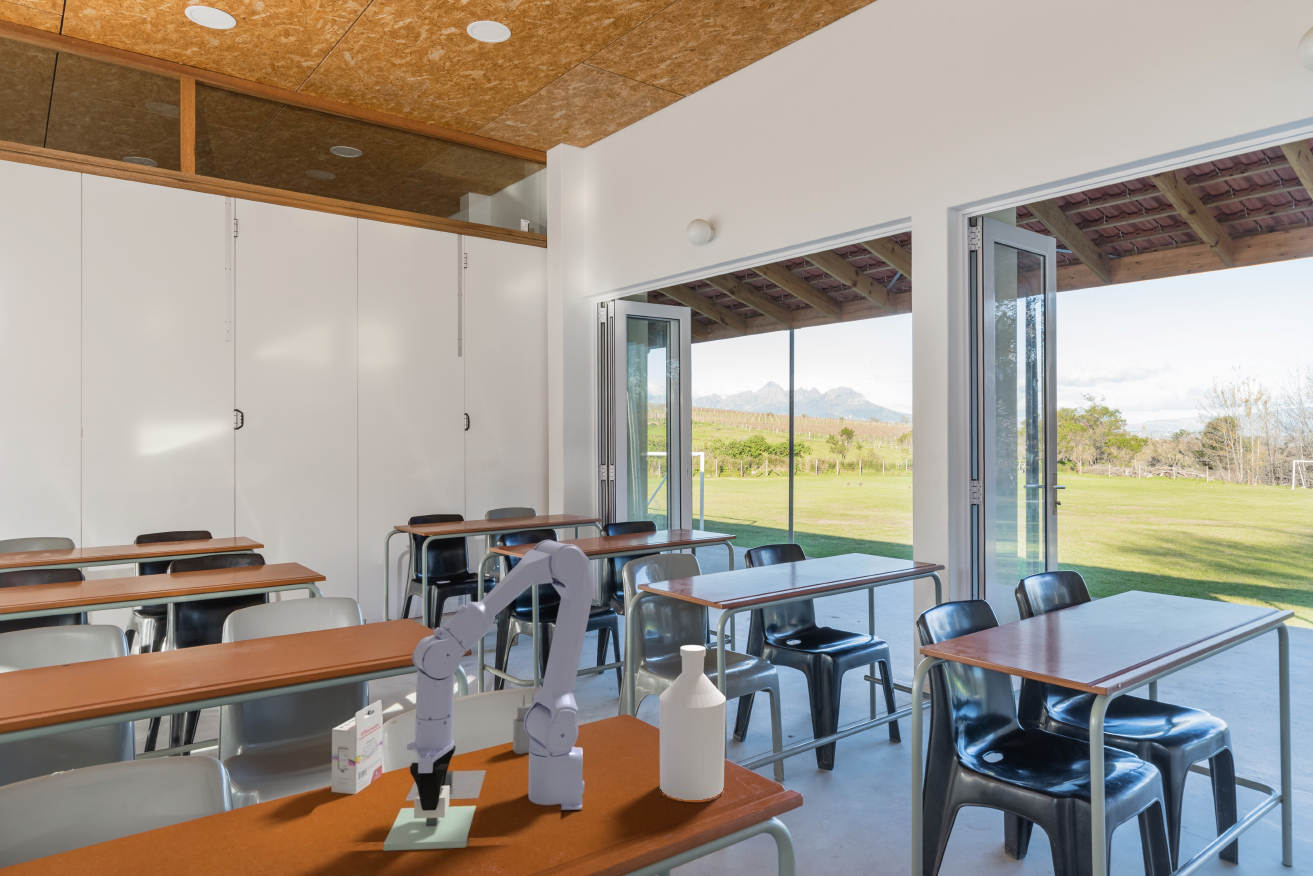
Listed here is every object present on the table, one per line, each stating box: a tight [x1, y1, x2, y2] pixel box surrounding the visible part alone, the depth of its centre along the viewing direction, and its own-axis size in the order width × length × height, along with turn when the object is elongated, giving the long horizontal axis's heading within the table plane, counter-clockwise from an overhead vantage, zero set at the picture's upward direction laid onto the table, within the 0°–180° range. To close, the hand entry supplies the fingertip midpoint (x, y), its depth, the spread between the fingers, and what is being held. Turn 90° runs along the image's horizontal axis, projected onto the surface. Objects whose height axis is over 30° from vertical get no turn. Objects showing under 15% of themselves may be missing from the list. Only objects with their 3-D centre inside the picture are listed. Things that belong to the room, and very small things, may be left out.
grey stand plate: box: [405, 769, 487, 802], centre depth 137 cm, size 12×12×3 cm
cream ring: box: [413, 785, 450, 818], centre depth 122 cm, size 5×5×3 cm
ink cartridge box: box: [331, 699, 384, 795], centre depth 138 cm, size 9×5×15 cm, turn 168°
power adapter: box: [512, 692, 535, 755], centre depth 154 cm, size 3×5×12 cm, turn 118°
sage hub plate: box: [383, 805, 477, 852], centre depth 122 cm, size 12×12×3 cm
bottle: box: [659, 644, 727, 800], centre depth 139 cm, size 12×12×25 cm
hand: (432, 802), depth 122 cm, fingers closed on cream ring, 5 cm apart
